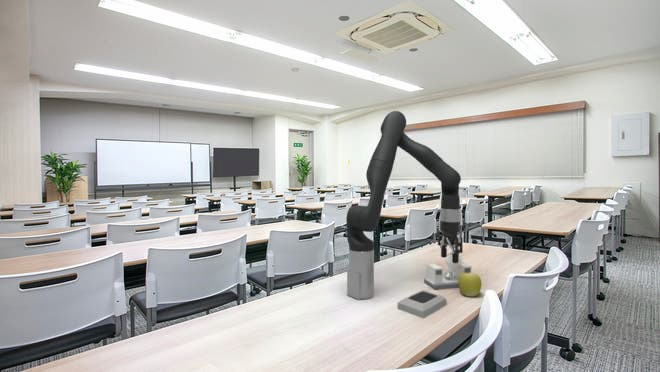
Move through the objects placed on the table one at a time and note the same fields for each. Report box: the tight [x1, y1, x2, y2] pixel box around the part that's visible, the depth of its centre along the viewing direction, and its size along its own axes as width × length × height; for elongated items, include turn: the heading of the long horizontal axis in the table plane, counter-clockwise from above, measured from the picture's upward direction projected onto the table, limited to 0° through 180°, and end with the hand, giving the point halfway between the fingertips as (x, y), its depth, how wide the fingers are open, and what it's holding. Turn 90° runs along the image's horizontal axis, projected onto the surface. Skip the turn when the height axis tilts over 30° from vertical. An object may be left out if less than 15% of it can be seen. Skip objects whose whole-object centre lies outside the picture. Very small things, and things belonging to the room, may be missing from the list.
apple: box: [458, 272, 482, 298], centre depth 119 cm, size 8×8×10 cm
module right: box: [453, 261, 472, 278], centre depth 131 cm, size 4×7×6 cm, turn 11°
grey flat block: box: [397, 289, 448, 319], centre depth 109 cm, size 10×4×15 cm
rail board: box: [423, 275, 460, 291], centre depth 130 cm, size 17×8×2 cm, turn 101°
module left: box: [425, 263, 444, 284], centre depth 128 cm, size 4×7×6 cm, turn 11°
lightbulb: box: [444, 251, 463, 279], centre depth 130 cm, size 6×6×11 cm
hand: (449, 259), depth 129 cm, fingers open, 8 cm apart
